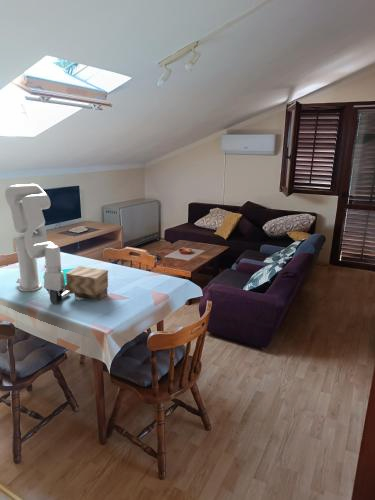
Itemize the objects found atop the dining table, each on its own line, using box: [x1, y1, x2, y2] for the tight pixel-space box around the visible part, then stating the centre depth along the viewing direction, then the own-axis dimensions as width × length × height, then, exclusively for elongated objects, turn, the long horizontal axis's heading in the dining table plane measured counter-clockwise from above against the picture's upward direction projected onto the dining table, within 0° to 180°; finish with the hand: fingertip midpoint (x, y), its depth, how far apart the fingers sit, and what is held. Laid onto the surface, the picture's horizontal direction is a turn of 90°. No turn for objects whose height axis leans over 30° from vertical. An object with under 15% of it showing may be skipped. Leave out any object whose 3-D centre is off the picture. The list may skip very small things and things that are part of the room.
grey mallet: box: [49, 290, 71, 305], centre depth 197 cm, size 4×13×7 cm, turn 163°
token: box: [74, 295, 85, 302], centre depth 200 cm, size 5×5×2 cm
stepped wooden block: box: [65, 265, 109, 300], centre depth 201 cm, size 19×13×15 cm
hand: (56, 300), depth 194 cm, fingers closed on grey mallet, 4 cm apart
